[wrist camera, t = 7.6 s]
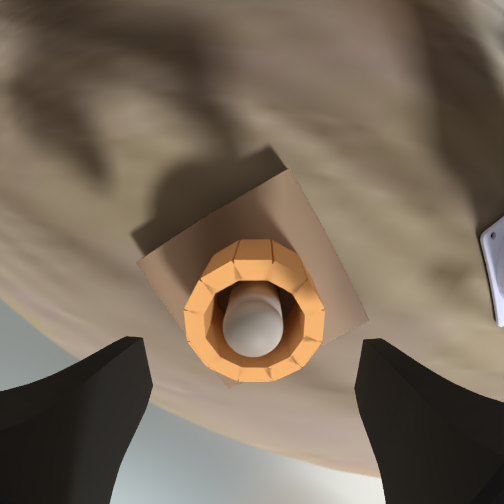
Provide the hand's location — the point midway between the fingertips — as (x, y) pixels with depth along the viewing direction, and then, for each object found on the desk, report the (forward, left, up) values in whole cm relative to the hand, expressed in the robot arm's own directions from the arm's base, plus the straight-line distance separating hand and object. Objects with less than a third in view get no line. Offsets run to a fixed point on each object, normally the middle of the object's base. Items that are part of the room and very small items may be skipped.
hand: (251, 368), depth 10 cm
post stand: (0, 0, -8) cm, 8 cm away
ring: (0, 0, -6) cm, 6 cm away
